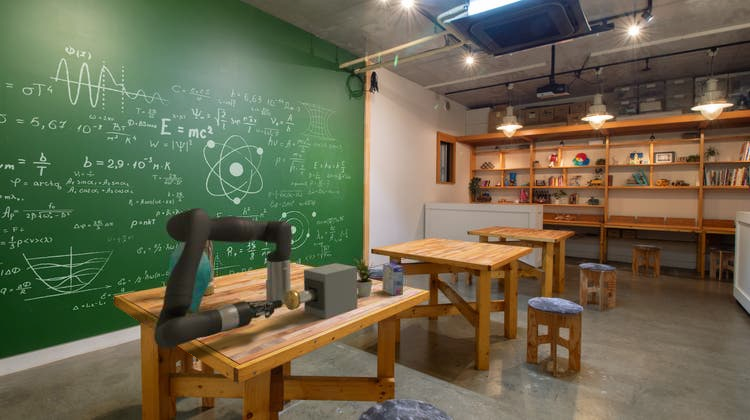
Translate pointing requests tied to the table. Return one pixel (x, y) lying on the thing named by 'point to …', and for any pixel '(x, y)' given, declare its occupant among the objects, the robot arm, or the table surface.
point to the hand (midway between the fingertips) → (280, 303)
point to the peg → (299, 298)
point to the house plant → (364, 279)
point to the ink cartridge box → (393, 278)
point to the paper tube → (209, 254)
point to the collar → (320, 293)
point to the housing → (334, 289)
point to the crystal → (201, 276)
